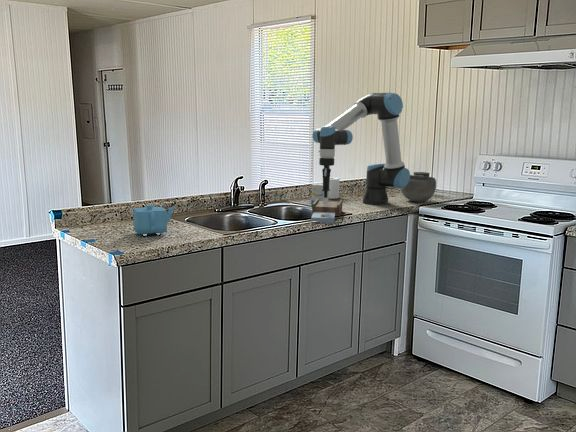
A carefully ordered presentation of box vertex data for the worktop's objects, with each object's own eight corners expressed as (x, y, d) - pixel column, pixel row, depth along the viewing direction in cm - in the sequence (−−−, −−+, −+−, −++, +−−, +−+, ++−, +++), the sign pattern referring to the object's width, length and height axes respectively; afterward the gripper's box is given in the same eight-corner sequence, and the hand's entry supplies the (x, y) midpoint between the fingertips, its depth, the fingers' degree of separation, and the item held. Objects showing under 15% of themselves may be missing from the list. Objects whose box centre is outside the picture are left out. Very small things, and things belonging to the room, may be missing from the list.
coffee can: (426, 193, 377) (427, 172, 374) (429, 195, 366) (431, 173, 364) (410, 192, 377) (411, 171, 374) (413, 195, 367) (415, 173, 364)
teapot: (138, 239, 235) (137, 208, 232) (133, 231, 249) (132, 202, 246) (181, 236, 242) (181, 206, 239) (173, 228, 256) (173, 200, 253)
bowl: (397, 202, 336) (398, 177, 334) (403, 197, 355) (404, 174, 352) (432, 205, 329) (434, 179, 326) (437, 200, 348) (438, 175, 345)
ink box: (325, 205, 323) (326, 185, 321) (310, 204, 324) (311, 184, 322) (327, 203, 331) (328, 183, 329) (313, 202, 333) (313, 182, 331)
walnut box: (342, 211, 306) (342, 199, 305) (339, 217, 288) (339, 205, 287) (316, 209, 308) (316, 198, 307) (312, 215, 291) (312, 204, 290)
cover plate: (335, 218, 289) (335, 210, 288) (333, 224, 273) (334, 216, 272) (313, 217, 290) (313, 209, 289) (311, 223, 275) (311, 215, 274)
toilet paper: (322, 198, 348) (322, 179, 345) (323, 195, 358) (323, 177, 356) (338, 199, 347) (339, 179, 344) (339, 196, 357) (339, 177, 354)
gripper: (321, 156, 290) (319, 201, 294) (317, 158, 277) (316, 205, 282) (335, 156, 289) (334, 201, 293) (333, 158, 276) (331, 206, 280)
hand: (325, 203), depth 287 cm, fingers closed
